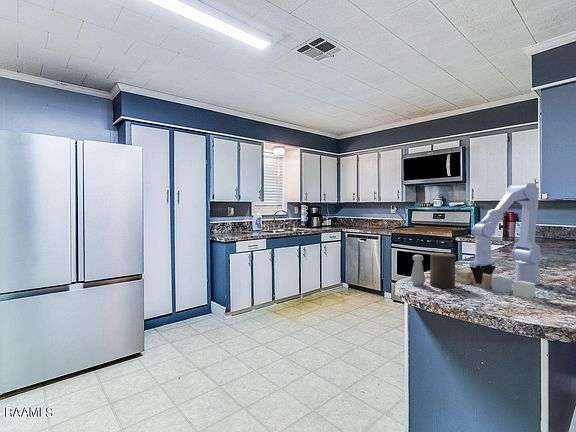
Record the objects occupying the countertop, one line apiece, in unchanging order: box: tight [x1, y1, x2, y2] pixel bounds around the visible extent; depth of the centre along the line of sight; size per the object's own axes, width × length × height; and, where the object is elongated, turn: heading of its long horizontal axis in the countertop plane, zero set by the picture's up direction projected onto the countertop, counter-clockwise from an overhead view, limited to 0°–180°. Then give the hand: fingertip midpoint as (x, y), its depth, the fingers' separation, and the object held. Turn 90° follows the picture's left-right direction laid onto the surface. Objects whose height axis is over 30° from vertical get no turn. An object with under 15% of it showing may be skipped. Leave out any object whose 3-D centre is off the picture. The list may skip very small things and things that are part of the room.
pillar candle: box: [429, 251, 456, 290], centre depth 136 cm, size 10×10×15 cm
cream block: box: [512, 281, 536, 299], centre depth 121 cm, size 5×5×5 cm
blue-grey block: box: [491, 276, 514, 294], centre depth 128 cm, size 5×5×5 cm
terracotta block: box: [472, 273, 493, 289], centre depth 135 cm, size 5×5×5 cm
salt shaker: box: [410, 254, 426, 287], centre depth 138 cm, size 6×6×13 cm
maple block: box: [455, 269, 473, 285], centre depth 143 cm, size 5×5×5 cm
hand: (482, 282), depth 135 cm, fingers closed on terracotta block, 5 cm apart
